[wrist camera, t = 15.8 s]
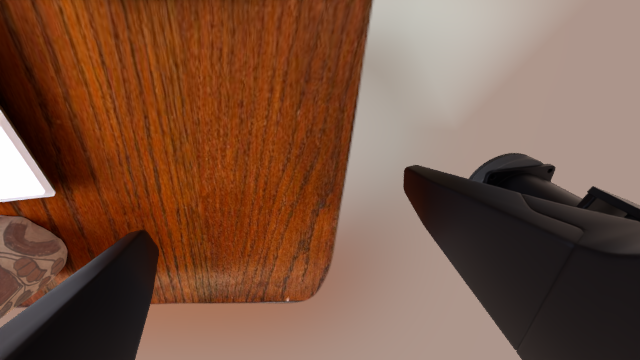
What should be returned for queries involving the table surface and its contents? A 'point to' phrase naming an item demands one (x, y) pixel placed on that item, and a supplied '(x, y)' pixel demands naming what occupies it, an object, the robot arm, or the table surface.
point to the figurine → (26, 260)
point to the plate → (19, 167)
